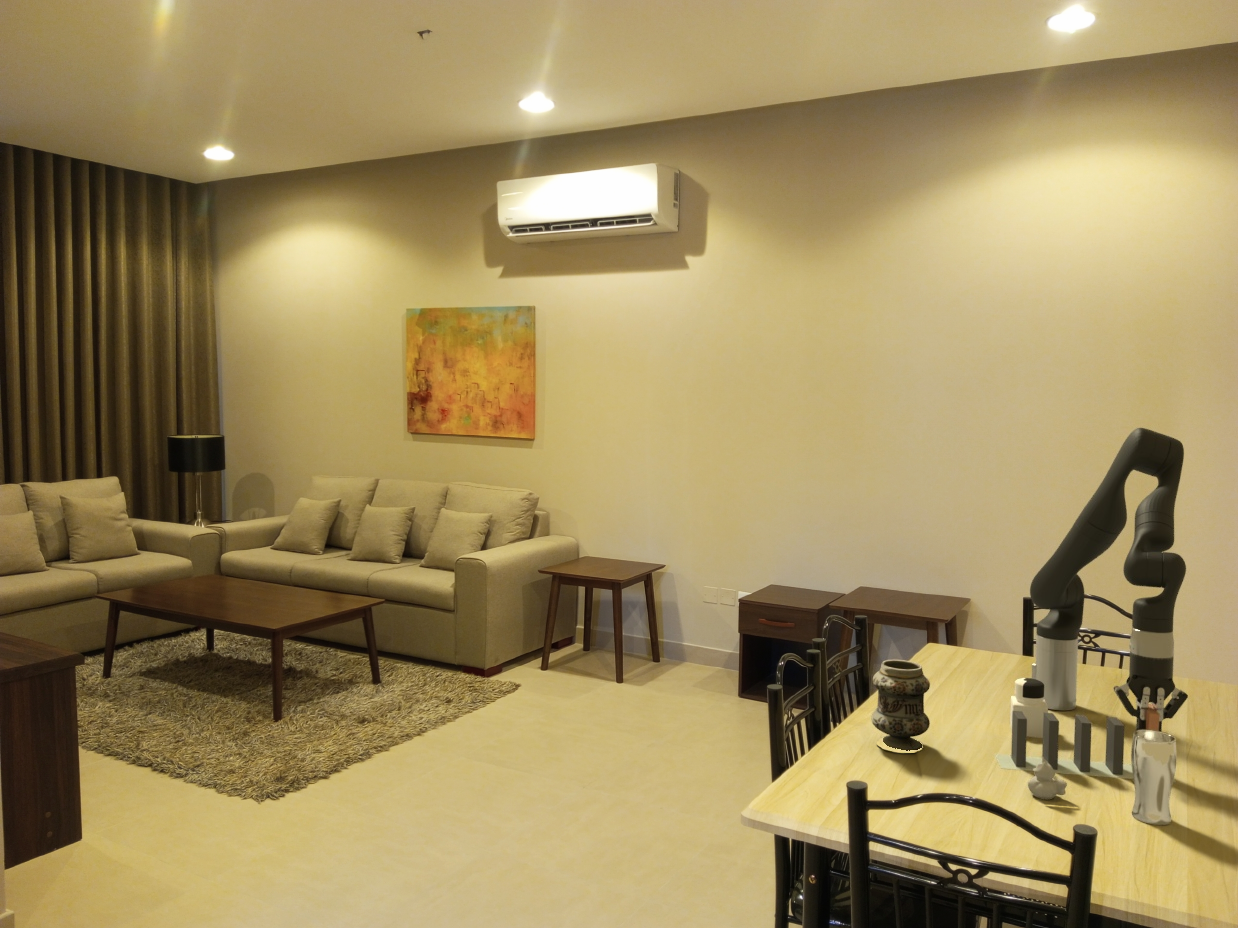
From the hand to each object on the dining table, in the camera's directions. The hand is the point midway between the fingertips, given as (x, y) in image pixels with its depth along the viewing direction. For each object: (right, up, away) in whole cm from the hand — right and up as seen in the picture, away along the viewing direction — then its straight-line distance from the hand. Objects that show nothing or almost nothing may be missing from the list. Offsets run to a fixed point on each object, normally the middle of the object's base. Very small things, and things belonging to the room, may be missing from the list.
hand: (1148, 736), depth 184 cm
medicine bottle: (-13, -6, +24) cm, 28 cm away
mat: (-12, -7, +3) cm, 14 cm away
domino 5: (0, -4, +1) cm, 4 cm away
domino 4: (-6, -7, +2) cm, 10 cm away
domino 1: (-24, -7, +6) cm, 25 cm away
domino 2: (-18, -7, +4) cm, 20 cm away
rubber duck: (-25, -9, -11) cm, 29 cm away
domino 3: (-12, -7, +3) cm, 14 cm away
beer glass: (-11, -9, -19) cm, 24 cm away
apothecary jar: (-45, -7, +16) cm, 48 cm away
